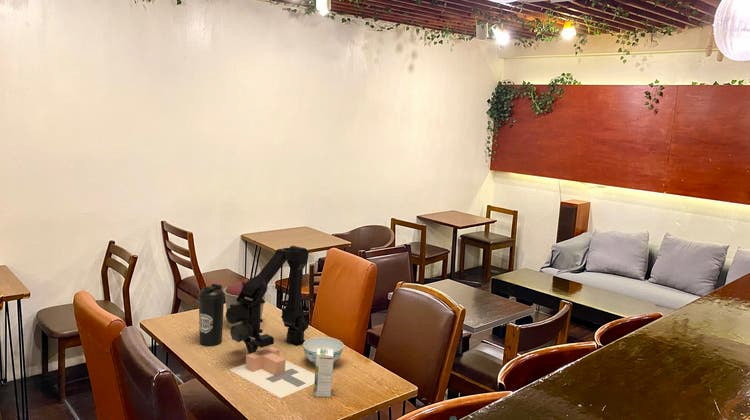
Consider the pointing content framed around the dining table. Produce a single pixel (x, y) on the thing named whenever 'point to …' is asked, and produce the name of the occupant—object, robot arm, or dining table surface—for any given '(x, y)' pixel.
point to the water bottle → (211, 315)
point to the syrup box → (323, 373)
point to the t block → (266, 361)
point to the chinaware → (322, 347)
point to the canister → (236, 296)
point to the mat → (278, 379)
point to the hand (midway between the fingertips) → (251, 356)
